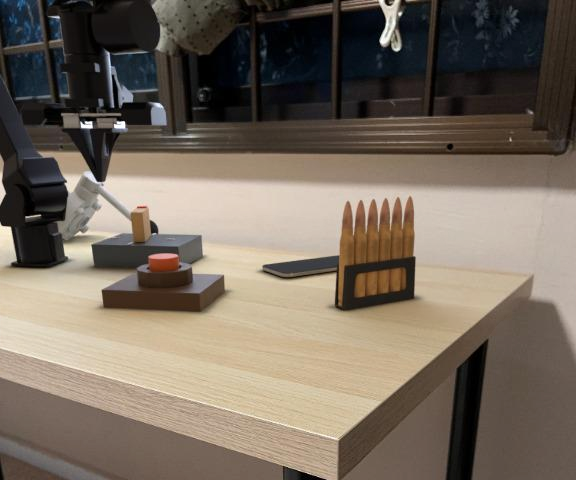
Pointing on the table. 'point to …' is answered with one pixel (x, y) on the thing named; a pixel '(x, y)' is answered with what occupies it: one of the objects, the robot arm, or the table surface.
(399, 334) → the table surface
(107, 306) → the button box
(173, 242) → the panel
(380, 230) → the ammunition clip
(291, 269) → the smartphone
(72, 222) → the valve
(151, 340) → the table surface
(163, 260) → the button
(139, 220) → the block
